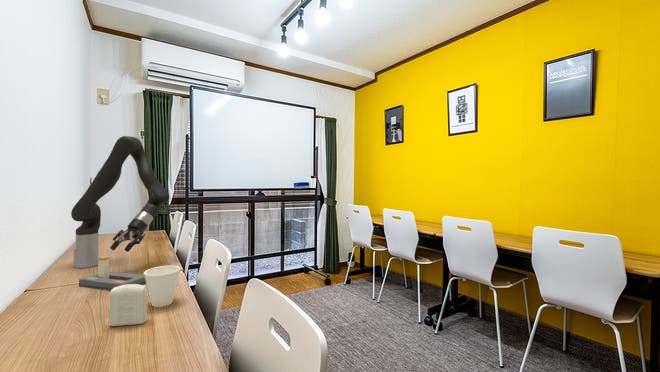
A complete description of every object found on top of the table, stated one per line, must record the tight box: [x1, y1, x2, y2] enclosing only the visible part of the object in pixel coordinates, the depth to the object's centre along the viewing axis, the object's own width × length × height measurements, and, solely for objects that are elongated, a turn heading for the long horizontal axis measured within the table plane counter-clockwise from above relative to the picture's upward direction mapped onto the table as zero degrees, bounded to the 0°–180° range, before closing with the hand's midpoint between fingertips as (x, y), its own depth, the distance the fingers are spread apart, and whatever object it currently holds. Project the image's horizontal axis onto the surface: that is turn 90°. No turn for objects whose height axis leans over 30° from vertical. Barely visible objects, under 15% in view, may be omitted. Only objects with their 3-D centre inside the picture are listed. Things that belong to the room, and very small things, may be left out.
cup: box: [143, 265, 181, 308], centre depth 108 cm, size 12×12×12 cm
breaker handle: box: [97, 255, 110, 279], centre depth 129 cm, size 3×2×10 cm
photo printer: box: [109, 284, 148, 327], centre depth 93 cm, size 10×4×12 cm, turn 103°
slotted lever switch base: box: [78, 270, 147, 292], centre depth 127 cm, size 24×12×3 cm, turn 75°
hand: (118, 250), depth 136 cm, fingers open, 8 cm apart
